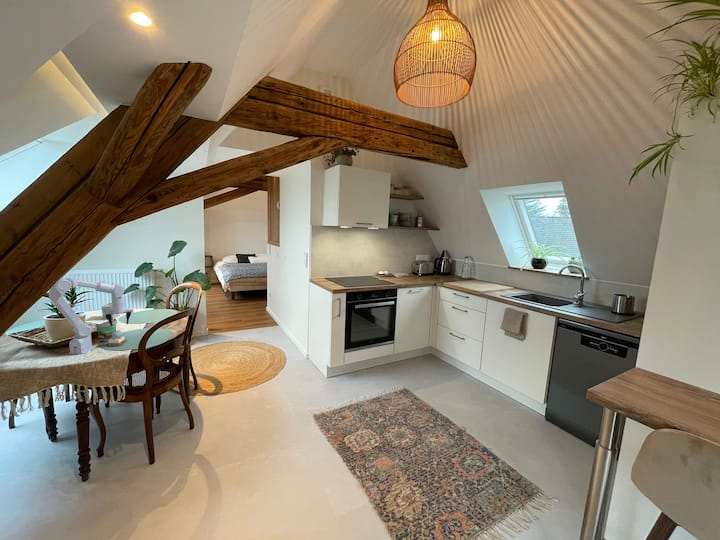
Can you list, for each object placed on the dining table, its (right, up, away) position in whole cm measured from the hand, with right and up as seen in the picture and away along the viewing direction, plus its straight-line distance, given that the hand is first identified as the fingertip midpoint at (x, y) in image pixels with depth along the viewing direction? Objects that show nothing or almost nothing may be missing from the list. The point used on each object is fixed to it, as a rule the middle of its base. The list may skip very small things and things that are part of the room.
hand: (119, 324), depth 185 cm
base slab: (+2, -12, -4) cm, 12 cm away
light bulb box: (-40, -3, +41) cm, 57 cm away
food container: (-12, -9, +7) cm, 17 cm away
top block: (+2, -9, -4) cm, 10 cm away
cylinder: (+2, -7, -4) cm, 9 cm away
